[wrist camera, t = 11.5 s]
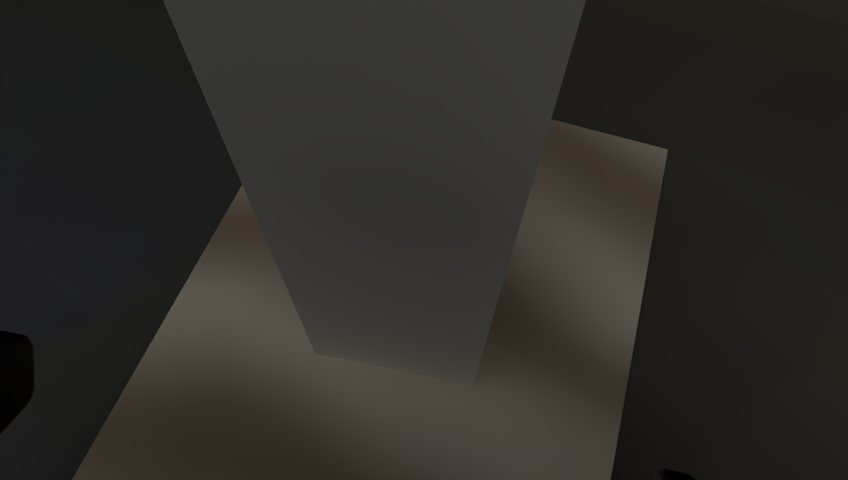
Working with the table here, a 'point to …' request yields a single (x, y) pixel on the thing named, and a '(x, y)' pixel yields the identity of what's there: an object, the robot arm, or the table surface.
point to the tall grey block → (385, 156)
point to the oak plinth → (396, 390)
